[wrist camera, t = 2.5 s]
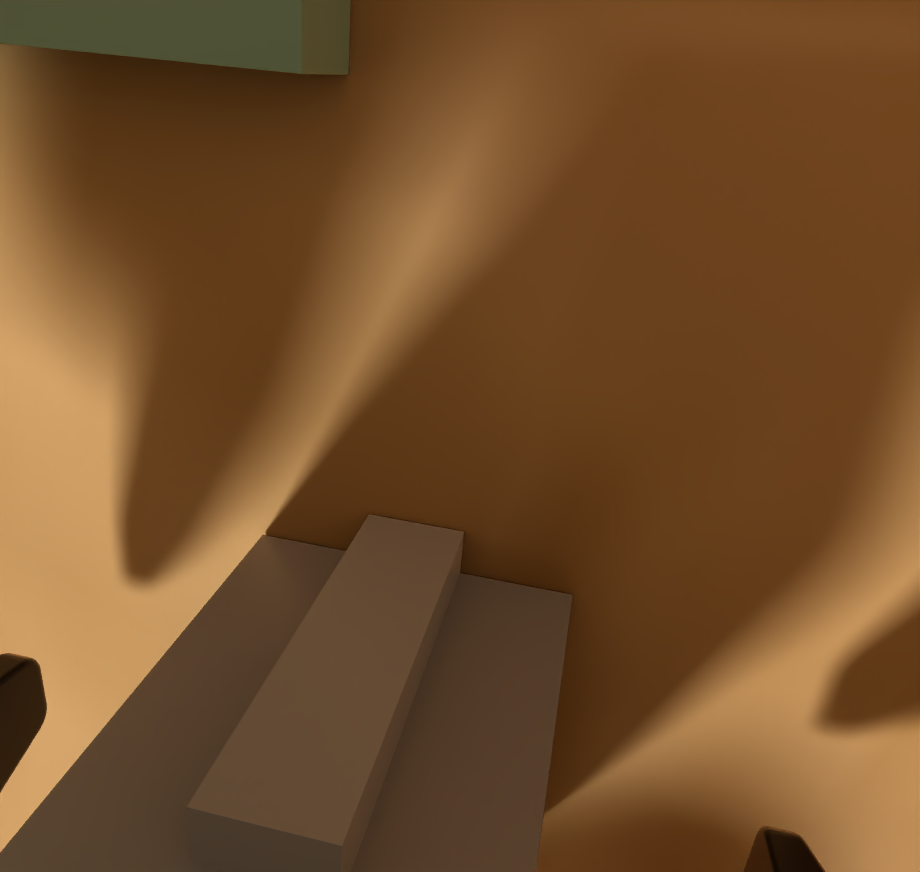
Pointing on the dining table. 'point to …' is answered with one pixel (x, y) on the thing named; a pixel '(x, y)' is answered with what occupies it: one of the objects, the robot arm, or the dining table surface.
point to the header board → (190, 31)
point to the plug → (327, 724)
